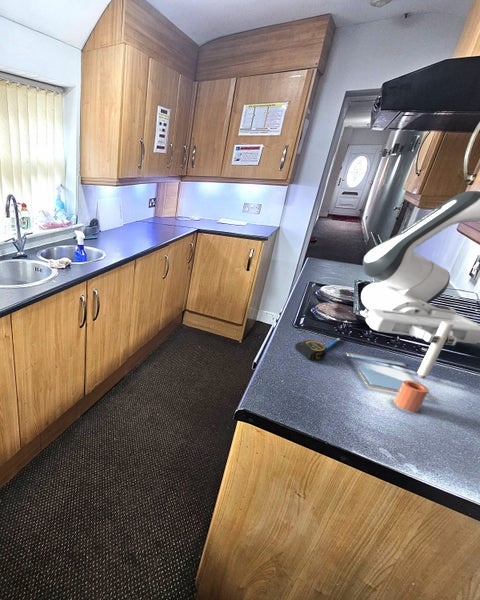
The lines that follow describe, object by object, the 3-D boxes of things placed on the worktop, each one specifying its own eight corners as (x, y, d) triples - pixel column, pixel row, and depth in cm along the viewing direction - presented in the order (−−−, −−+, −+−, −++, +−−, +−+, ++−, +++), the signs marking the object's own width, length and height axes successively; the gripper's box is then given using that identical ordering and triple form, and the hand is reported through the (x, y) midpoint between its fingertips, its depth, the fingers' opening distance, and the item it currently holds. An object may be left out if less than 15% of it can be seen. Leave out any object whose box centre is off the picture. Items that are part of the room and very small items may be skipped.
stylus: (424, 375, 76) (451, 321, 70) (428, 380, 74) (456, 325, 69) (414, 374, 76) (440, 320, 71) (418, 378, 75) (444, 323, 69)
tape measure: (292, 350, 102) (294, 340, 100) (314, 348, 102) (316, 338, 100) (307, 363, 95) (310, 353, 94) (330, 361, 95) (333, 350, 94)
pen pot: (412, 403, 80) (422, 383, 77) (421, 415, 76) (433, 394, 73) (390, 398, 81) (399, 378, 79) (398, 409, 77) (408, 389, 75)
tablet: (402, 364, 95) (403, 362, 95) (437, 402, 80) (438, 399, 80) (345, 354, 100) (346, 351, 100) (367, 388, 85) (368, 385, 84)
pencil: (340, 340, 107) (340, 338, 107) (316, 357, 99) (317, 355, 98) (337, 339, 108) (337, 337, 108) (313, 355, 99) (314, 354, 99)
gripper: (361, 298, 84) (390, 320, 72) (461, 309, 79) (511, 335, 67) (352, 320, 87) (379, 345, 74) (449, 332, 81) (496, 361, 69)
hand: (442, 340), depth 70 cm, fingers closed on stylus, 2 cm apart
